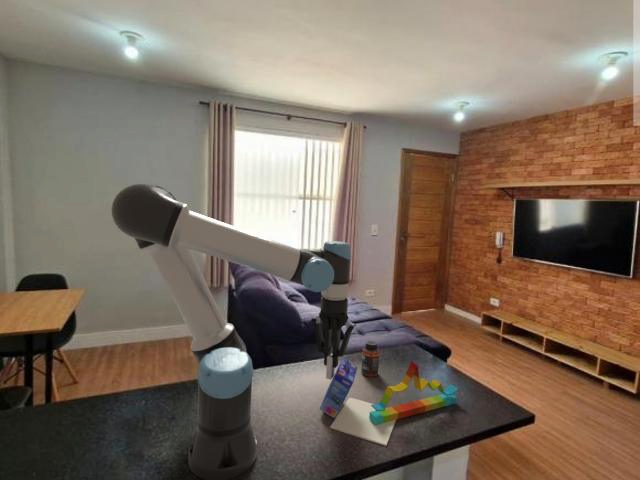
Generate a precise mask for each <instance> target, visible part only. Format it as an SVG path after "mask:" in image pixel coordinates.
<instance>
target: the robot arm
mask: <svg viewBox="0 0 640 480" xmlns="http://www.w3.org/2000/svg"><path fill="white" fill-rule="evenodd" d="M111 216H112V220H113V222H114V224H115V225H116V227H117V228H118V229H119V230H120V231H121V232H122V233H123V234H125V235H126V236H128V237H130V238H134V240H135V242H136V244H137V246H138V249H139V250H140V251H142V252H145V253H148V254H150V256H151V257H152V259H153V263H154V264H155V266H156V268H157V270H158V272H159V274H160V275H161V277H162V280H163V281H164V283H165V286H166V287H167V289H168V291H169V293H170V296H171V297H172V299H173V301H174V303H175V305H176V308H177V309H178V311H179V314H180V315H181V317H182V319H183V321H184V323H185V325H186V328H187V329H188V331H189V333H190V335H191V338H192V341H191V343H190V350H191V351H192V354H193V355H194V358H195V359H196V362H197V363H198V370H197V385H198V386H197V425H196V429H195V432H194V435H193V438H192V440H191V443H190V445H189V449H188V468H189V469H190V471H191V473H193V474H194V475H195V476H196V477H198V478H200V479H203V480H231V479H234V478H237V477H239V476H241V475H243V473H245V472H247V471H248V470H250V468H251V467H252V466H253V465H254V463H255V461H256V459H257V454H258V441H257V437H256V435H255V433H254V429H253V426H252V421H251V416H252V414H251V413H252V390H253V389H252V387H253V384H252V383H253V375H254V367H253V361H252V360H253V359H252V357H251V356H250V355H249V354H248V352H247V346H246V344H245V343H244V341H243V339H242V338H241V337H240V336H239V334H238V332H237V331H236V328H235V326H234V324H232V323H229V322H227V321H225V319H224V317H223V315H222V313H221V310H220V308H219V306H218V304H217V302H216V300H215V299H214V295H213V294H212V291H211V290H210V288H209V285H208V284H207V281H206V279H205V277H204V275H203V273H202V271H201V269H200V266H199V265H198V262H197V260H196V259H195V256H194V254H193V252H192V251H196V252H198V253H201V254H205V255H207V256H211V257H213V258H218V259H220V260H224V261H226V262H230V263H232V264H237V265H240V266H242V267H246V268H248V269H252V270H255V271H258V272H262V273H264V274H267V275H271V276H273V277H277V278H280V279H284V280H286V281H289V282H292V283H295V284H297V285H300V286H303V287H305V288H306V289H307V290H309V291H311V292H314V293H320V294H321V298H320V312H318V315H315V316H314V317H312V318H311V319H310V321H311V323H312V325H313V327H314V334H315V339H316V345H317V350H318V352H319V353H322V354H323V365H324V366H326V372H325V373H326V374H325V378H326V379H327V380H330V381H332V379H333V377H334V375H335V373H336V371H335V369H336V368H338V367H339V357H340V358H341V357H343V356H344V354H345V353H346V351H347V349H348V348H347V347H348V345H349V342H350V339H351V335H352V332H353V331H354V329H355V328H356V326H357V325H356V323H355V322H352V321H350V319H349V315H348V305H349V298H348V296H349V286H350V270H351V269H350V268H351V260H352V258H351V257H352V256H351V255H352V253H351V251H352V250H351V245H350V244H349V243H348V242H346V241H345V242H344V241H336V240H333V241H332V240H331V241H329V240H328V241H325V242H324V243H323V247H322V248H295V247H292V246H289V245H286V244H284V243H281V242H278V241H275V240H272V239H269V238H267V237H264V236H262V235H259V234H255V233H253V232H251V231H247V230H244V229H242V228H240V227H236V226H234V225H231V224H228V223H225V222H224V221H223V222H222V221H219V220H217V219H214V218H213V217H209V216H205V215H204V214H200V213H199V212H198V213H197V212H194V211H191V209H190V207H189V206H188V204H187V203H185V202H181V201H178V200H177V198H176V197H175V195H173V194H172V193H171V192H170V191H169V190H168V189H166V188H164V187H162V186H159V185H153V184H152V185H150V184H146V183H144V184H143V183H138V184H137V183H136V184H132V185H129V186H126V187H125V188H122V190H120V191H119V192H118V193H117V195H116V196H115V197H114V200H113V202H112V205H111ZM322 324H323V325H322ZM344 325H345V329H346V330H345V332H344V335H343V337H342V338H343V339H342V341H341V331H342V328H343V327H344ZM322 326H324V331H323V327H322ZM323 332H324V333H323ZM332 336H333V337H332ZM340 344H341V345H340Z"/></svg>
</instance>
